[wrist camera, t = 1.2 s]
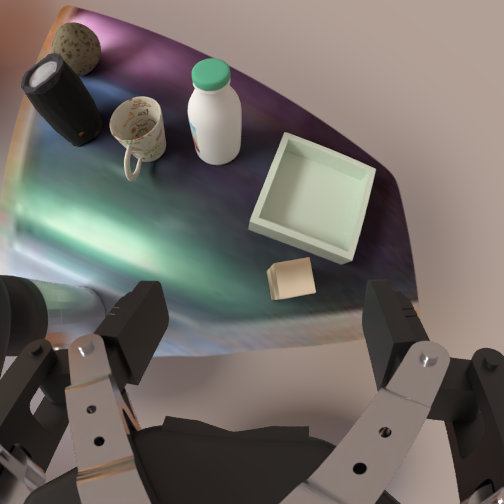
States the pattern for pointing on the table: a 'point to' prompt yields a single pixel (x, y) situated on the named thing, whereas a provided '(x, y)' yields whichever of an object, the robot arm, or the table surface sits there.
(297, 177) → the bin
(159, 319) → the robot arm
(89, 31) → the decorative egg
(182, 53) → the table surface
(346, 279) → the table surface
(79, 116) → the portable speaker
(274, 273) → the birch block
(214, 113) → the milk bottle
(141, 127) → the mug
